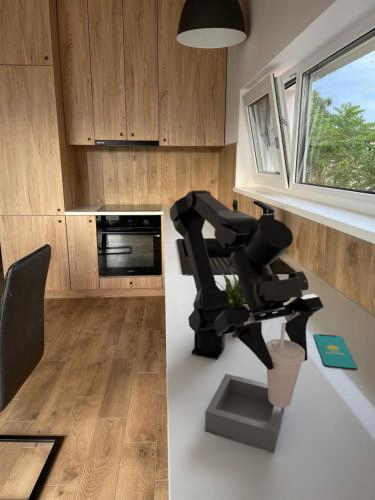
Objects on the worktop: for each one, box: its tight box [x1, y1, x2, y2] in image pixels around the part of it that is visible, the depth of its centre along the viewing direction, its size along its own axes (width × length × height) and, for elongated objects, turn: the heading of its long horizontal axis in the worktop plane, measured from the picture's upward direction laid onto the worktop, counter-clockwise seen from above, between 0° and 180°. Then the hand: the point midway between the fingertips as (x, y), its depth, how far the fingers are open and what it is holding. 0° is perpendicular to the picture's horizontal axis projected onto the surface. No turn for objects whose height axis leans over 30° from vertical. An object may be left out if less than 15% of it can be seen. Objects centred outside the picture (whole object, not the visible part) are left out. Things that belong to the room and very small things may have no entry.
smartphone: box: [313, 333, 358, 371], centre depth 84 cm, size 7×1×15 cm
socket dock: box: [204, 373, 285, 454], centre depth 61 cm, size 12×12×4 cm
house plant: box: [215, 271, 249, 334], centre depth 93 cm, size 14×14×16 cm
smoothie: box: [265, 322, 305, 408], centre depth 56 cm, size 6×6×14 cm
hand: (288, 364), depth 55 cm, fingers closed on smoothie, 6 cm apart
